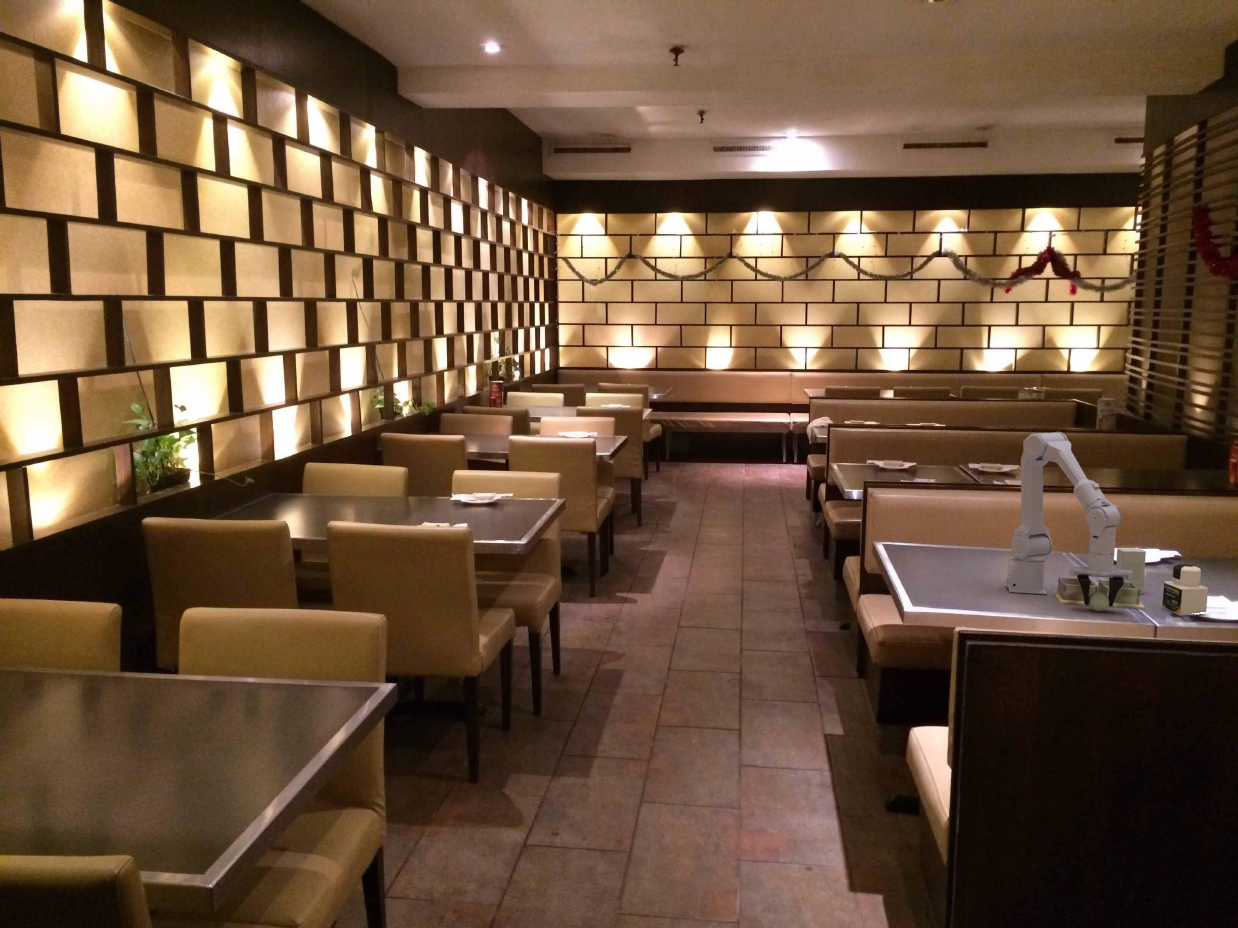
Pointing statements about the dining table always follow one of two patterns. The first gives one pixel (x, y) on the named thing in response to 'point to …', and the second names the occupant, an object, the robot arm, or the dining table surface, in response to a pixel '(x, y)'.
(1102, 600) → the sage ball
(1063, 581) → the sorting board
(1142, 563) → the skincare box
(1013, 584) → the robot arm
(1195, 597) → the medicine bottle
